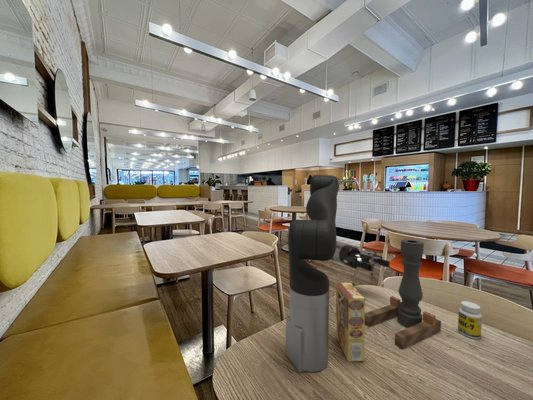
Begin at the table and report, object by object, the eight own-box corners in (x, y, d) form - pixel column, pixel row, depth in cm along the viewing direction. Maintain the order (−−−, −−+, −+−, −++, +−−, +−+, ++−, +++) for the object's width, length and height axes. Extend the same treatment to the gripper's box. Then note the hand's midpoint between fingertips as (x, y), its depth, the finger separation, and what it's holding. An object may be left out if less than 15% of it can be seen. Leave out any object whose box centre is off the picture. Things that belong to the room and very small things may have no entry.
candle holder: (414, 317, 69) (417, 239, 68) (426, 330, 63) (429, 244, 62) (393, 316, 70) (396, 238, 69) (403, 328, 64) (406, 243, 63)
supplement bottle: (454, 331, 63) (455, 302, 62) (463, 326, 65) (464, 298, 64) (475, 341, 58) (477, 310, 58) (484, 336, 60) (485, 306, 60)
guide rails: (403, 350, 55) (404, 329, 55) (362, 322, 67) (362, 305, 66) (441, 331, 62) (442, 312, 62) (398, 309, 74) (399, 293, 74)
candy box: (365, 362, 51) (366, 298, 51) (347, 362, 51) (348, 298, 51) (350, 336, 60) (351, 282, 60) (334, 337, 60) (335, 282, 59)
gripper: (331, 246, 87) (366, 258, 72) (358, 243, 93) (394, 253, 78) (331, 265, 87) (365, 280, 72) (357, 260, 93) (394, 273, 78)
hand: (380, 266), depth 75 cm, fingers open, 8 cm apart
